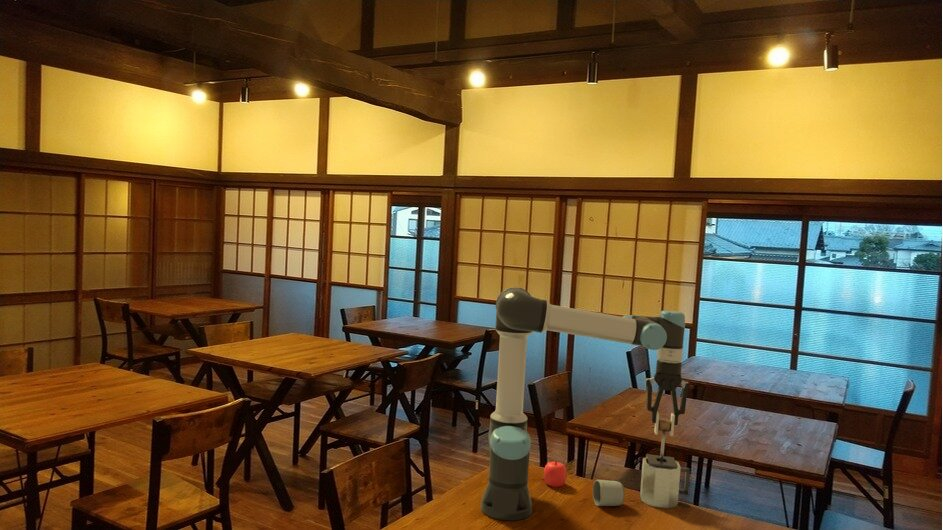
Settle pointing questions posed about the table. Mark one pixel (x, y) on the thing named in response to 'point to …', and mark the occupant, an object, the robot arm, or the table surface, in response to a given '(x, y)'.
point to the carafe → (662, 481)
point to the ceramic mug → (608, 493)
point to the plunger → (663, 434)
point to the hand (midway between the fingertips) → (663, 433)
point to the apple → (555, 474)
